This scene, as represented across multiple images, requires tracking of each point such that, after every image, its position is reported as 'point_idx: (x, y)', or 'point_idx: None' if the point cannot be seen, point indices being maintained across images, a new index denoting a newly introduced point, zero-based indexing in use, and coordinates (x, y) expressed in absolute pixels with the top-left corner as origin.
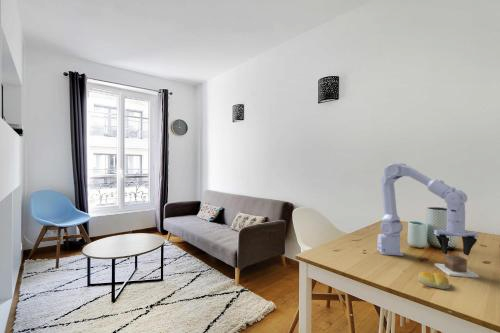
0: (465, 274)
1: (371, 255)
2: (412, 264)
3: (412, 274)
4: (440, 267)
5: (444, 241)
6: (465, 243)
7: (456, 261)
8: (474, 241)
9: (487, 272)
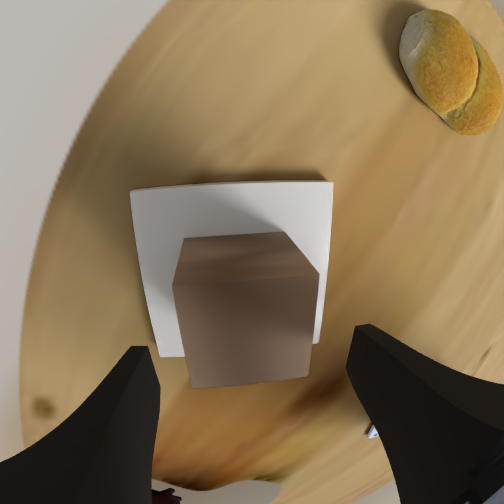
0: (218, 190)
1: (484, 341)
2: (420, 305)
3: (480, 169)
4: (325, 284)
5: (500, 389)
6: (133, 483)
7: (274, 265)
8: (9, 479)
9: (53, 301)
